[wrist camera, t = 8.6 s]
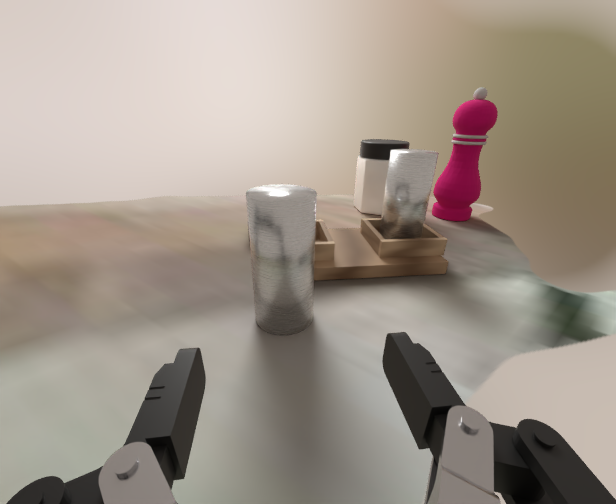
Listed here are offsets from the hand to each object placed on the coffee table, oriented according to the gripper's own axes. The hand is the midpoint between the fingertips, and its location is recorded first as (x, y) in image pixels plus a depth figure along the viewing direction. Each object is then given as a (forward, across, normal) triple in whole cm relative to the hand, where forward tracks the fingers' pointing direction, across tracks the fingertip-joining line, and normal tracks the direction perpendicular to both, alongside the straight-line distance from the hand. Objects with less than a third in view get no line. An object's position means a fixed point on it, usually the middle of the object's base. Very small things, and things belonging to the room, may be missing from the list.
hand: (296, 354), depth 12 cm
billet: (+11, 0, +7) cm, 13 cm away
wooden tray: (+22, -8, +7) cm, 25 cm away
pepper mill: (+36, -31, +7) cm, 48 cm away
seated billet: (+22, -15, +5) cm, 27 cm away
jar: (+41, -19, +7) cm, 46 cm away
